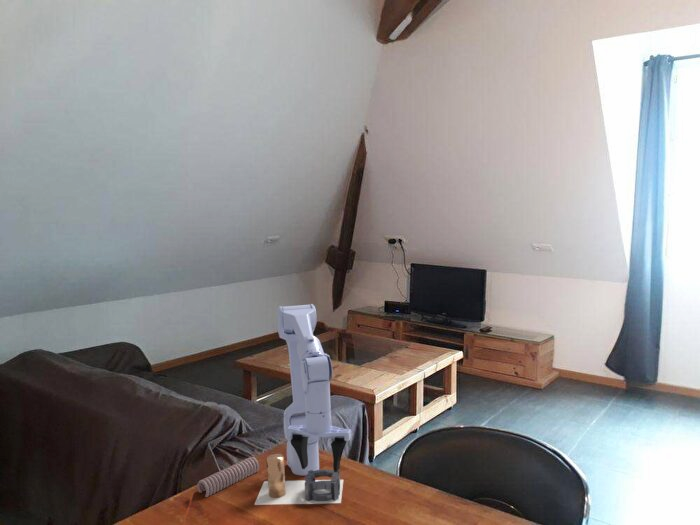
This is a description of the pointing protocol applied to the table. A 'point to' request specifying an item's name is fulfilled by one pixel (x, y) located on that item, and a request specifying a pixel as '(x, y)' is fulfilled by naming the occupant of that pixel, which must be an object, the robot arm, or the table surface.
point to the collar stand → (322, 485)
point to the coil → (228, 476)
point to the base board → (293, 494)
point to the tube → (276, 475)
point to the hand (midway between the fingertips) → (320, 468)
